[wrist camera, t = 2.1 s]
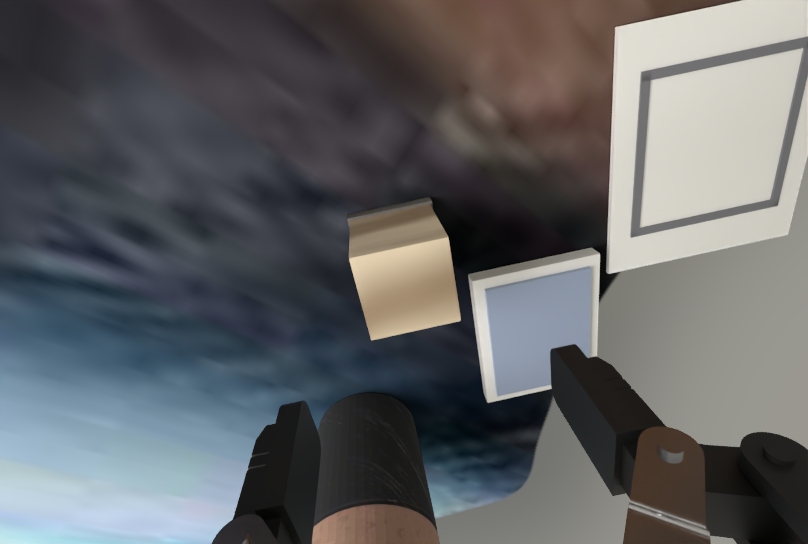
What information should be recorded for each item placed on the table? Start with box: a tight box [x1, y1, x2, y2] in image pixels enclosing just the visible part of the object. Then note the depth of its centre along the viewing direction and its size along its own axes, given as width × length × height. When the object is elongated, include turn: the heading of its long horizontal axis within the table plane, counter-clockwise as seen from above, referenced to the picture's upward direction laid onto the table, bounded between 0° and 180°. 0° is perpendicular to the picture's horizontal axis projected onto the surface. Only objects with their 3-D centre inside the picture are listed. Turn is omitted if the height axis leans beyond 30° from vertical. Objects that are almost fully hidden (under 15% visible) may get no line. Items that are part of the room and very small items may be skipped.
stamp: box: [347, 197, 461, 340], centre depth 22 cm, size 5×5×6 cm
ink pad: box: [468, 248, 600, 403], centre depth 28 cm, size 10×8×1 cm
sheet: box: [606, 0, 808, 274], centre depth 24 cm, size 14×12×1 cm
